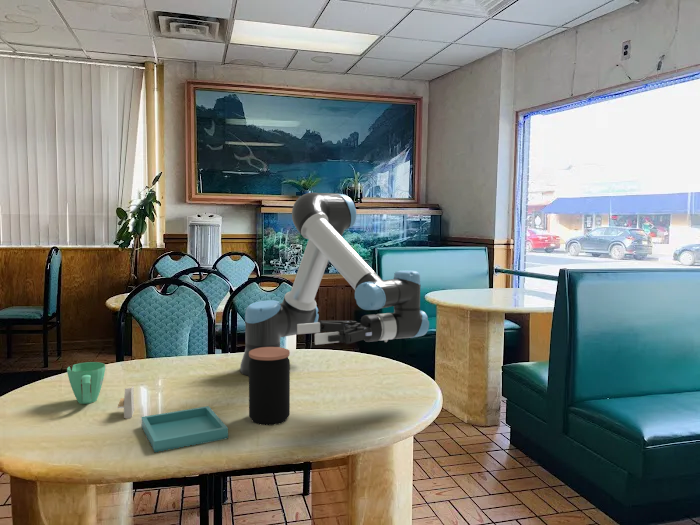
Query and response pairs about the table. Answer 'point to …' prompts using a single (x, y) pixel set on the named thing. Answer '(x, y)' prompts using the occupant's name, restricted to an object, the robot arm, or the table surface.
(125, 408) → the architectural model
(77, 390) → the mug
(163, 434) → the tray
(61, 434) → the table surface
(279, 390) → the coffee jar
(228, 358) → the table surface
